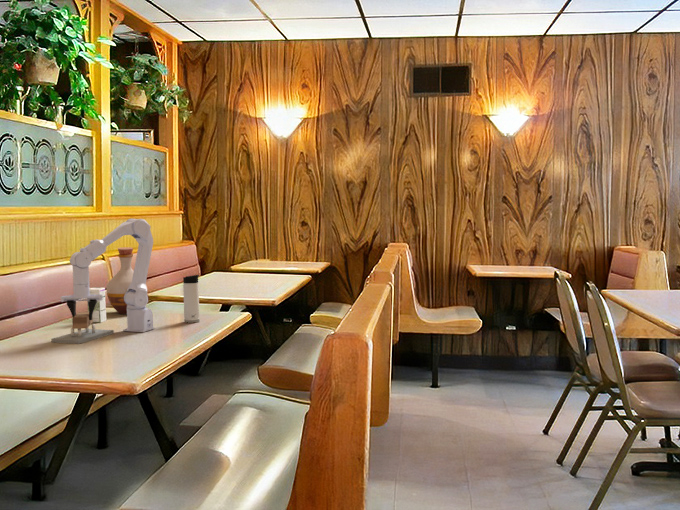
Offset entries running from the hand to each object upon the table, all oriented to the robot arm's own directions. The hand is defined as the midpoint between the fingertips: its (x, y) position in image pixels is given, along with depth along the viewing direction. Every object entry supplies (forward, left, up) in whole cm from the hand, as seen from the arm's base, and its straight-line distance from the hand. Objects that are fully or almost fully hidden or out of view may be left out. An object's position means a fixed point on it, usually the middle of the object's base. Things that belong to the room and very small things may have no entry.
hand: (82, 320), depth 251 cm
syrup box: (+17, -30, -7) cm, 35 cm away
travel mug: (-23, -40, -7) cm, 47 cm away
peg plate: (0, 0, -7) cm, 7 cm away
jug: (+19, -54, -7) cm, 58 cm away
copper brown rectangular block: (0, 0, -2) cm, 2 cm away
